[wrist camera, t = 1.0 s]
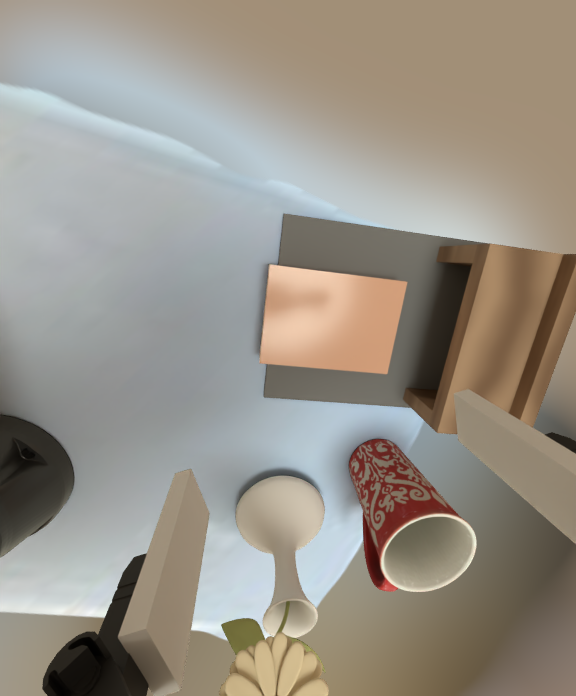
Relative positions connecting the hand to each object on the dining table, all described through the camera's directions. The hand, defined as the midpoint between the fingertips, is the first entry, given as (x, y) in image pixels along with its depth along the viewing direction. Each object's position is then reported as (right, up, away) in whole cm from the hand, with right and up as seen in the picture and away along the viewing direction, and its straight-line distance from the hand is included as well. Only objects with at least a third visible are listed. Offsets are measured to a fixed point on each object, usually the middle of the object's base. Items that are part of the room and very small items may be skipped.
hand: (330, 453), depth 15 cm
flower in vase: (-4, -15, +26) cm, 30 cm away
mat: (+10, +8, +21) cm, 24 cm away
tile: (+2, +8, +19) cm, 21 cm away
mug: (+9, -11, +26) cm, 30 cm away
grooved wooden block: (+17, +7, +21) cm, 28 cm away
